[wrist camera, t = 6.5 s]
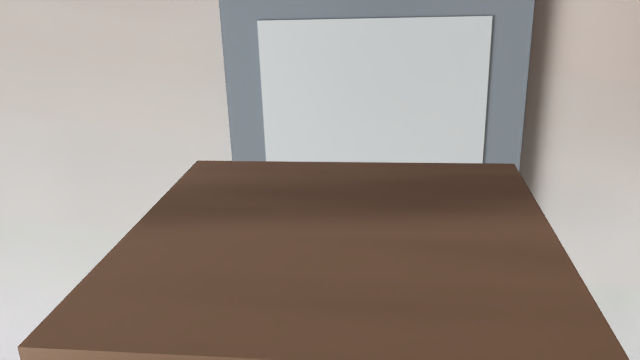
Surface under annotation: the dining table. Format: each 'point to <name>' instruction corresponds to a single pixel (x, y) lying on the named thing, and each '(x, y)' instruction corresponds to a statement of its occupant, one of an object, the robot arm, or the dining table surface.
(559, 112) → the dining table surface
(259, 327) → the walnut cube
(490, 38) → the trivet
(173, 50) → the dining table surface
